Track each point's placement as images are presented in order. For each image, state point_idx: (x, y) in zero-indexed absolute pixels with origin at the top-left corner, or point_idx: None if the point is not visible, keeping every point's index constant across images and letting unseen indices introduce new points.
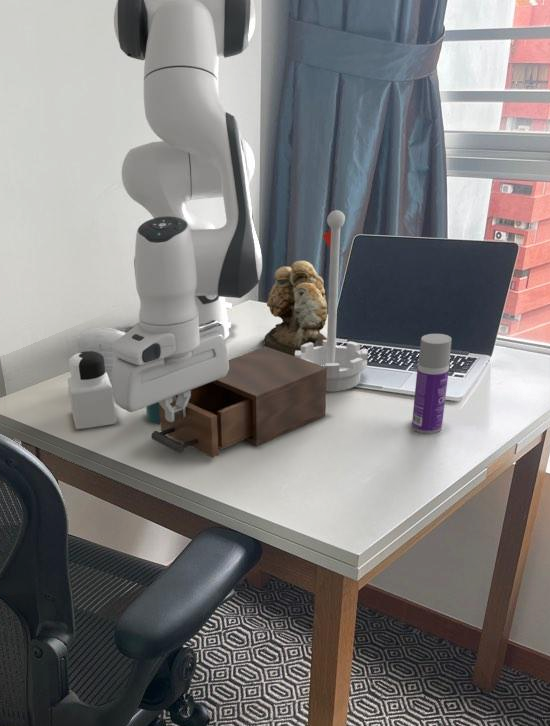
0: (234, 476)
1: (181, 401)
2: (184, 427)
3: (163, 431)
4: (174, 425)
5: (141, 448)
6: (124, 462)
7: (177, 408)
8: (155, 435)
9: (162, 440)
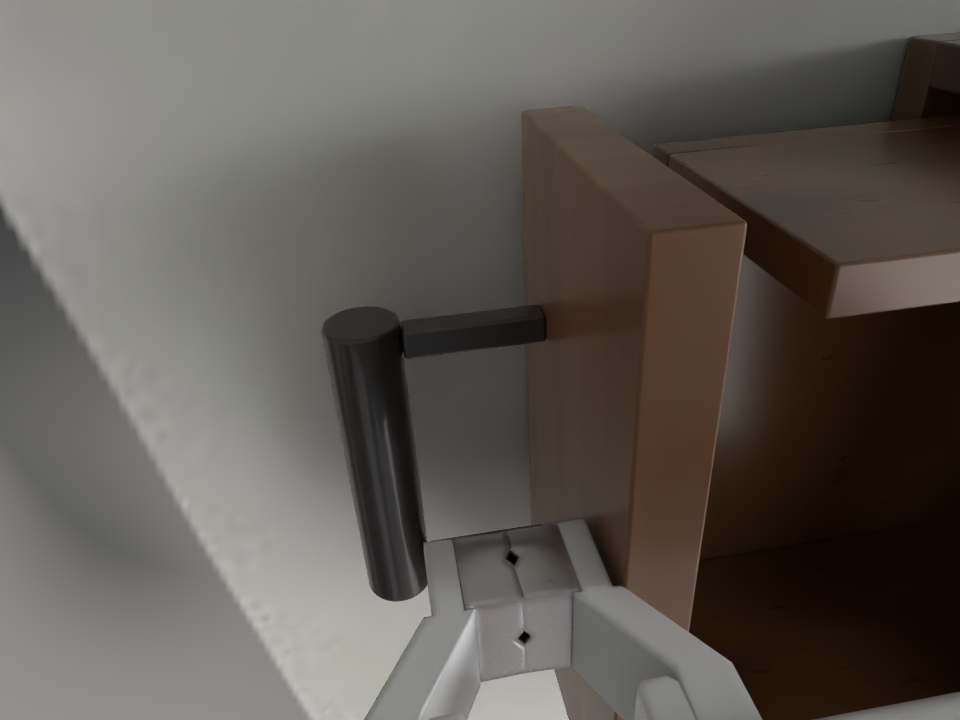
0: (519, 683)
1: (614, 679)
2: (559, 474)
3: (440, 341)
4: (552, 348)
5: (276, 180)
6: (64, 296)
7: (538, 650)
8: (340, 383)
9: (349, 462)
